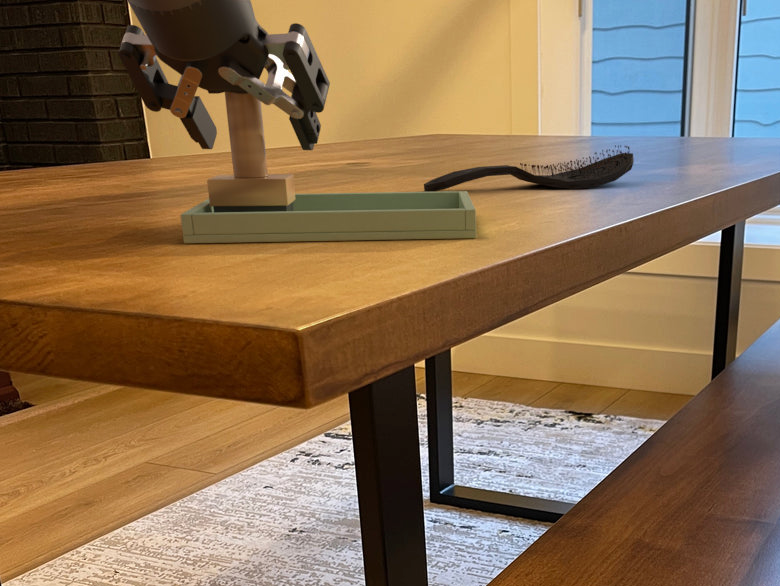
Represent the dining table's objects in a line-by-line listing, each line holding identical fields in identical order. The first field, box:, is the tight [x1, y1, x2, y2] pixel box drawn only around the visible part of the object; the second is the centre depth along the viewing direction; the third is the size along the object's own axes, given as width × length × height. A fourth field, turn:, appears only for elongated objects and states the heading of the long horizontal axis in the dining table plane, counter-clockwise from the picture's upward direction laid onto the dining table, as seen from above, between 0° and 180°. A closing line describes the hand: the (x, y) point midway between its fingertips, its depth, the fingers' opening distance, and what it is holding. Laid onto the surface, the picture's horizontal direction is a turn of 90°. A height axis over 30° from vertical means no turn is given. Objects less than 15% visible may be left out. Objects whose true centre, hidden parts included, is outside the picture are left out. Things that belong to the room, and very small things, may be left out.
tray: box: [179, 190, 477, 245], centre depth 80 cm, size 22×14×2 cm, turn 95°
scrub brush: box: [206, 92, 296, 213], centre depth 77 cm, size 6×4×10 cm, turn 93°
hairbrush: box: [423, 144, 635, 192], centre depth 110 cm, size 8×4×25 cm
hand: (260, 141), depth 80 cm, fingers open, 8 cm apart
